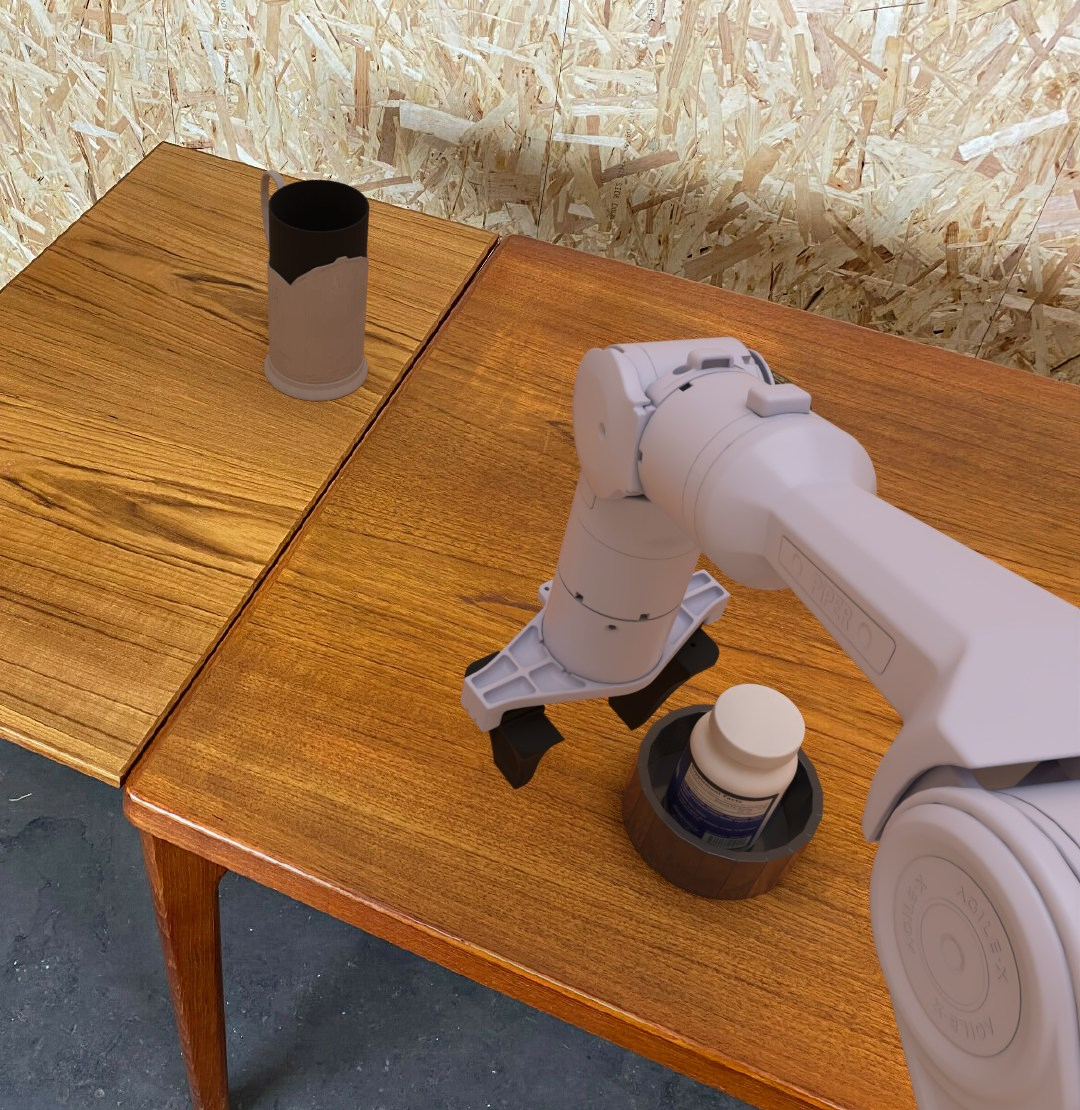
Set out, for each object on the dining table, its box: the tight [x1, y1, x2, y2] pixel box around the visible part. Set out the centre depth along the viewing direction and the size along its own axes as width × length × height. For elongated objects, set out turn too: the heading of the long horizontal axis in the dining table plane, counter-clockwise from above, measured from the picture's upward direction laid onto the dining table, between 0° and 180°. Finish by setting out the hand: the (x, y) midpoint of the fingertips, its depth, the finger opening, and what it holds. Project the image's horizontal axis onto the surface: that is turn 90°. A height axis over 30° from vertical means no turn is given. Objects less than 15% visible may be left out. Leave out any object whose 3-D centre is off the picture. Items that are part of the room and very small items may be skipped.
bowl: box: [621, 703, 824, 901], centre depth 66 cm, size 10×10×4 cm
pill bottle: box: [664, 683, 806, 852], centre depth 63 cm, size 6×6×10 cm
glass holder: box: [259, 169, 370, 402], centre depth 92 cm, size 9×14×15 cm, turn 28°
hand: (568, 743), depth 61 cm, fingers open, 7 cm apart
